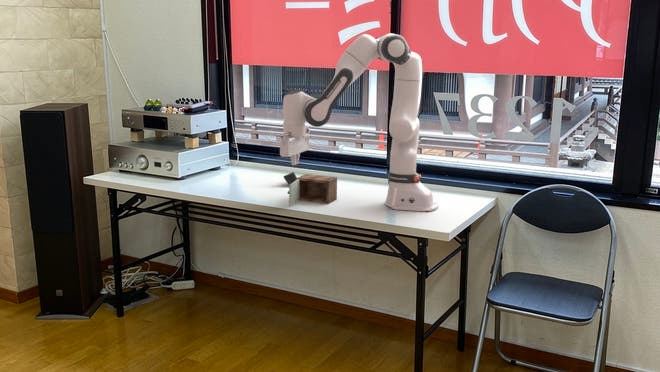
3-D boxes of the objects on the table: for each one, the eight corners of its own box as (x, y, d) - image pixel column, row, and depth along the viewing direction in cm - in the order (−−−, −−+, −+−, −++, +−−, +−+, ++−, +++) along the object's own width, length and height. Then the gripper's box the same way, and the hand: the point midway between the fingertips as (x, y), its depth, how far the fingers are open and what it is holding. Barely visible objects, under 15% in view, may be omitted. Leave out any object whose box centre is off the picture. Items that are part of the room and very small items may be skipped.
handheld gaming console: (305, 185, 299) (293, 168, 299) (293, 194, 300) (281, 177, 301) (311, 184, 310) (299, 167, 311) (299, 192, 312) (288, 175, 312)
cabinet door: (291, 205, 264) (291, 185, 262) (286, 205, 265) (286, 184, 263) (299, 199, 276) (299, 179, 274) (295, 198, 276) (295, 178, 275)
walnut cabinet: (336, 199, 280) (337, 177, 277) (328, 203, 271) (329, 181, 269) (305, 195, 285) (305, 174, 283) (297, 200, 277) (297, 177, 275)
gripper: (289, 134, 248) (290, 169, 251) (311, 128, 267) (312, 161, 270) (275, 134, 251) (276, 168, 254) (298, 127, 269) (298, 160, 272)
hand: (295, 164), depth 262 cm, fingers closed
